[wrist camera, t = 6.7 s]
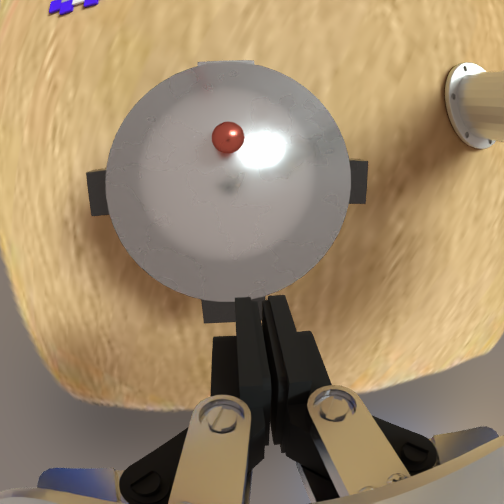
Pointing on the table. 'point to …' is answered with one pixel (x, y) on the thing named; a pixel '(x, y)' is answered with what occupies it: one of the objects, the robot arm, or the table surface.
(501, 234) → the table surface
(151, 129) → the lid
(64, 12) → the building block set
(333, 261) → the table surface
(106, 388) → the table surface
